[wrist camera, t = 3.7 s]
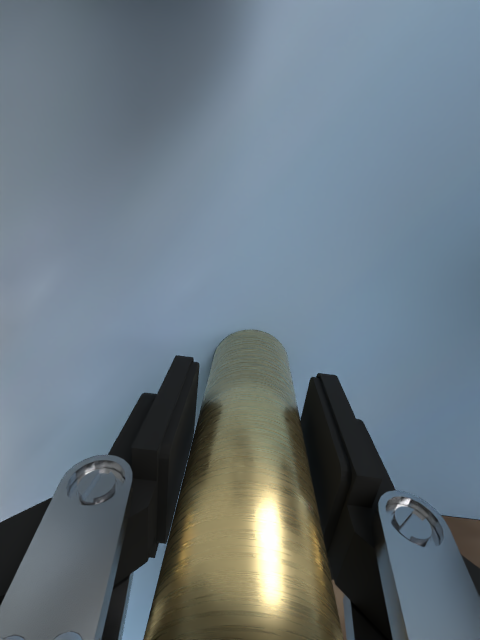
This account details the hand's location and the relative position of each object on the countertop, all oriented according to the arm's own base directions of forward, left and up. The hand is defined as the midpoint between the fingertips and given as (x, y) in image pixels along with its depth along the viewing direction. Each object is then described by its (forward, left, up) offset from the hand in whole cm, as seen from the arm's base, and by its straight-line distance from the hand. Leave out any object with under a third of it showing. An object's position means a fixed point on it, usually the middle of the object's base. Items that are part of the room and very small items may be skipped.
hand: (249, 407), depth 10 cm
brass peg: (0, 0, -3) cm, 3 cm away
